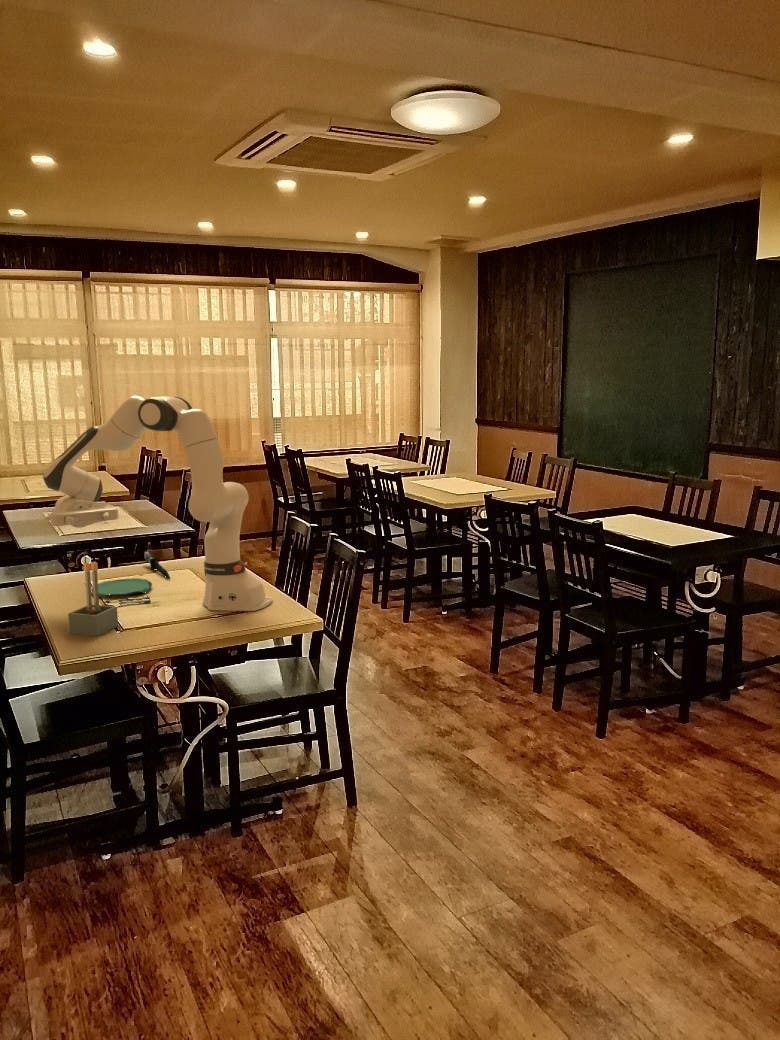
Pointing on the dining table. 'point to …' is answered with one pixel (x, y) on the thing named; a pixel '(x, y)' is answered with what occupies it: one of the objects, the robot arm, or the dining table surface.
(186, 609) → the dining table surface
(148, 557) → the knife
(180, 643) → the dining table surface
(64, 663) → the dining table surface
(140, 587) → the green cutting board
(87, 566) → the tongs
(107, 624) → the open box
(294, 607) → the dining table surface
